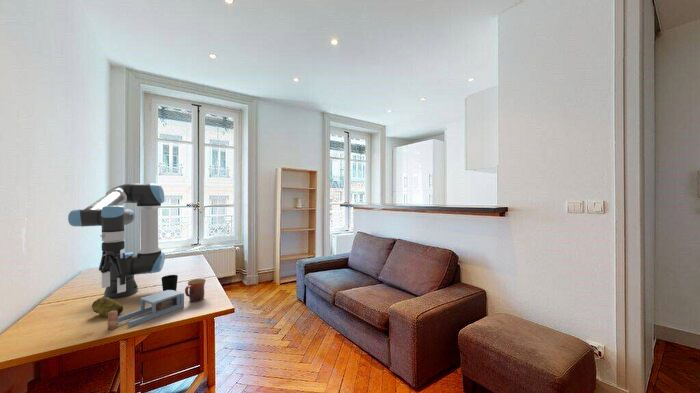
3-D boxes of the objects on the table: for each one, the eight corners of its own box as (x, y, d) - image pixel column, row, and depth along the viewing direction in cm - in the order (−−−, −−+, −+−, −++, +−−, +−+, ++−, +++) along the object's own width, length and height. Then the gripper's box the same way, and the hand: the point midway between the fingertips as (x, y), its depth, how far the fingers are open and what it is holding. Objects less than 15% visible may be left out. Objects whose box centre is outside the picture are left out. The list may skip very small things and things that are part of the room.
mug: (196, 295, 153) (196, 278, 153) (209, 297, 152) (209, 279, 151) (178, 304, 142) (178, 285, 141) (193, 305, 140) (192, 286, 140)
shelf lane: (117, 321, 123) (117, 305, 123) (171, 302, 144) (171, 288, 144) (130, 326, 118) (130, 309, 118) (184, 306, 139) (183, 292, 139)
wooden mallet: (105, 328, 116) (105, 312, 116) (166, 306, 139) (166, 293, 139) (111, 331, 114) (110, 314, 114) (172, 308, 136) (172, 294, 136)
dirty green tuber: (104, 321, 123) (104, 303, 123) (88, 316, 128) (88, 299, 127) (125, 313, 131) (125, 297, 131) (109, 309, 135) (109, 293, 135)
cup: (180, 296, 152) (180, 275, 152) (166, 301, 145) (166, 279, 145) (172, 294, 155) (172, 274, 155) (158, 299, 148) (158, 277, 148)
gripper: (88, 240, 119) (89, 287, 119) (117, 244, 108) (117, 297, 108) (109, 237, 125) (110, 282, 126) (138, 242, 114) (139, 291, 114)
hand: (113, 289), depth 117 cm, fingers open, 13 cm apart
